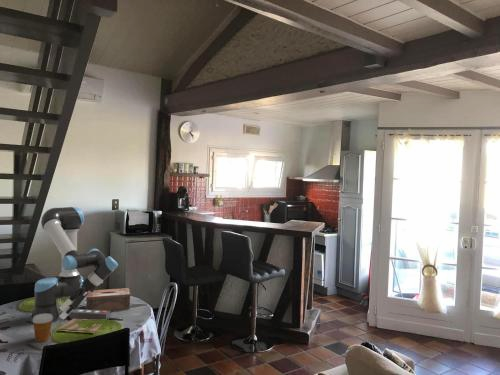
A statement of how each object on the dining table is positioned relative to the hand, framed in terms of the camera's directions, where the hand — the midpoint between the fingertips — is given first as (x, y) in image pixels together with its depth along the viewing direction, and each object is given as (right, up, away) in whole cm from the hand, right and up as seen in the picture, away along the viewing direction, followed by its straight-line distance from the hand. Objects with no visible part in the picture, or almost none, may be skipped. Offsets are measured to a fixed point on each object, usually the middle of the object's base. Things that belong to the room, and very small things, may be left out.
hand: (61, 313), depth 207 cm
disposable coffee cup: (-8, -13, -2) cm, 15 cm away
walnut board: (+5, -12, +16) cm, 21 cm away
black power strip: (+8, -12, +29) cm, 33 cm away
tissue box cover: (+7, -12, +50) cm, 51 cm away
